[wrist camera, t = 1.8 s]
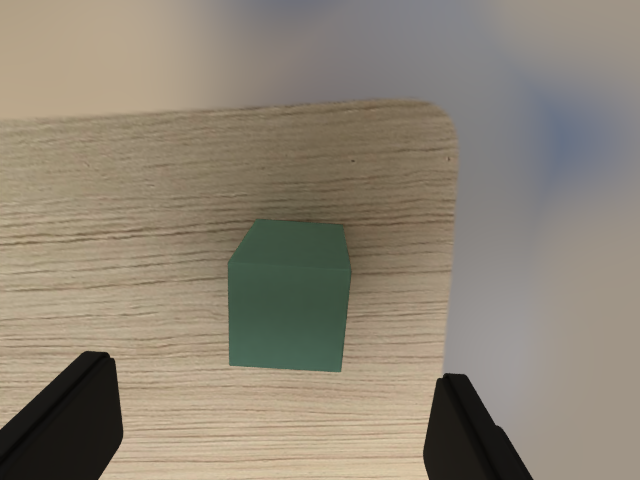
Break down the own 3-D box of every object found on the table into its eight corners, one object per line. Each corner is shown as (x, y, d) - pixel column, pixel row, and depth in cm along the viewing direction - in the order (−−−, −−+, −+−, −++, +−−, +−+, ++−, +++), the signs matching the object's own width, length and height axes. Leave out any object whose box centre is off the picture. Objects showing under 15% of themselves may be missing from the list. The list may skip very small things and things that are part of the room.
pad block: (256, 218, 19) (227, 261, 13) (343, 224, 19) (351, 270, 13) (255, 296, 20) (229, 366, 15) (335, 301, 20) (341, 372, 15)
